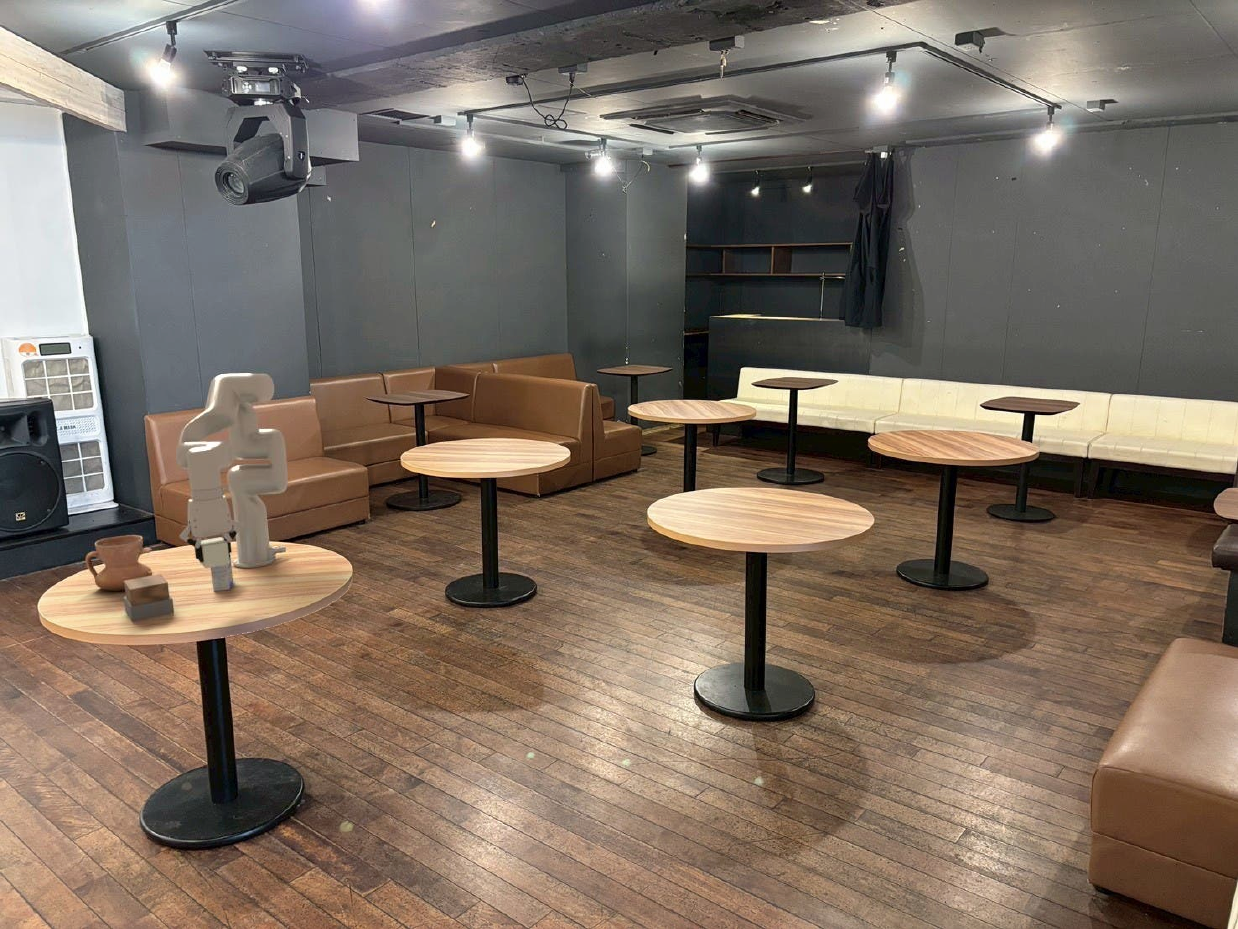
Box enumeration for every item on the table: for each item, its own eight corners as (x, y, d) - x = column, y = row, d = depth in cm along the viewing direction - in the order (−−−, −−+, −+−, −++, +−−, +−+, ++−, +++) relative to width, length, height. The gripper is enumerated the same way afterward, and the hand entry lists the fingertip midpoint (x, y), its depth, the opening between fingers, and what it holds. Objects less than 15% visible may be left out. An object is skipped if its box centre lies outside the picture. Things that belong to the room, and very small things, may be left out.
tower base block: (166, 604, 240) (164, 588, 239) (174, 614, 232) (172, 598, 232) (125, 612, 234) (123, 596, 233) (132, 623, 226) (130, 607, 226)
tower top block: (162, 589, 239) (160, 574, 238) (169, 598, 232) (167, 582, 231) (125, 596, 233) (123, 580, 232) (131, 606, 226) (129, 589, 225)
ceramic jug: (165, 577, 262) (159, 531, 259) (144, 593, 248) (138, 545, 245) (102, 580, 260) (96, 535, 257) (78, 597, 246) (71, 548, 243)
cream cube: (223, 558, 237) (221, 537, 236) (229, 563, 232) (227, 542, 231) (199, 562, 233) (197, 541, 232) (205, 568, 229) (203, 546, 227)
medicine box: (229, 590, 250) (226, 561, 248) (213, 591, 249) (210, 563, 247) (233, 581, 258) (230, 553, 256) (217, 583, 256) (214, 555, 255)
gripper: (237, 485, 237) (243, 548, 241) (167, 495, 226) (175, 561, 230) (245, 491, 231) (251, 555, 235) (174, 501, 221) (182, 569, 225)
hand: (214, 557), depth 233 cm, fingers closed on cream cube, 6 cm apart
